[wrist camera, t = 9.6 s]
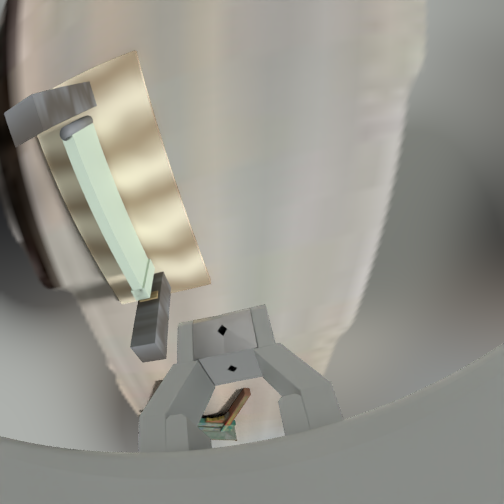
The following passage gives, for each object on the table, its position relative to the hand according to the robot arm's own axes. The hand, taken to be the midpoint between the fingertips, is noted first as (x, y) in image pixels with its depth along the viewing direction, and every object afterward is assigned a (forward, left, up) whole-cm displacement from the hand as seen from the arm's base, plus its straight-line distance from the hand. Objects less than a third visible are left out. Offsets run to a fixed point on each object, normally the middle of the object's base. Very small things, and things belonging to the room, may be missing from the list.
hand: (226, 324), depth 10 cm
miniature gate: (+60, -22, -26) cm, 69 cm away
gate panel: (+3, -12, -24) cm, 27 cm away
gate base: (+3, -12, -26) cm, 28 cm away
